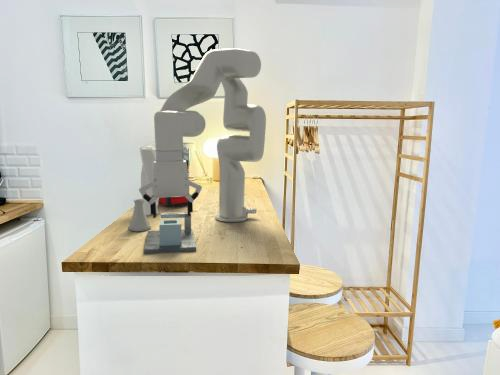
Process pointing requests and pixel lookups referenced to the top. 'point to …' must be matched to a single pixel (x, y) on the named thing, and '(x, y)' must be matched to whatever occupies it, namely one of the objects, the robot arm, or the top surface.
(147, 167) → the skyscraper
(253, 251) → the top surface
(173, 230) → the link
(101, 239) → the top surface
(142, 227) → the flask
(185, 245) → the base
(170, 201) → the cleaning product box
